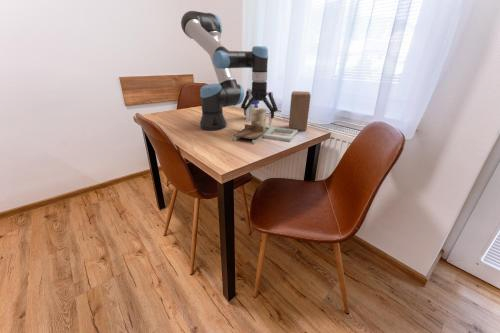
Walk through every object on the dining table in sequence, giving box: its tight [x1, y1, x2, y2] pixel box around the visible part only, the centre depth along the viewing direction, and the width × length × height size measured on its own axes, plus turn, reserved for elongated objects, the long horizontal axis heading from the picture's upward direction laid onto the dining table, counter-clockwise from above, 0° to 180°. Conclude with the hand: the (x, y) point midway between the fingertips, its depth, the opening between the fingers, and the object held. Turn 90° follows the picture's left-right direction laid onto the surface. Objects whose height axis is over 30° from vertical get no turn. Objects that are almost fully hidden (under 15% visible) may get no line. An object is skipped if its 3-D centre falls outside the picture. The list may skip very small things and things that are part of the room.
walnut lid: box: [233, 123, 265, 140], centre depth 110 cm, size 12×12×3 cm
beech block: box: [250, 107, 267, 131], centre depth 118 cm, size 6×6×12 cm
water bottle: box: [246, 87, 260, 121], centre depth 141 cm, size 8×9×25 cm
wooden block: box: [288, 90, 311, 132], centre depth 123 cm, size 10×10×20 cm
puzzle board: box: [233, 125, 299, 145], centre depth 114 cm, size 27×26×2 cm
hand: (258, 122), depth 119 cm, fingers open, 13 cm apart
